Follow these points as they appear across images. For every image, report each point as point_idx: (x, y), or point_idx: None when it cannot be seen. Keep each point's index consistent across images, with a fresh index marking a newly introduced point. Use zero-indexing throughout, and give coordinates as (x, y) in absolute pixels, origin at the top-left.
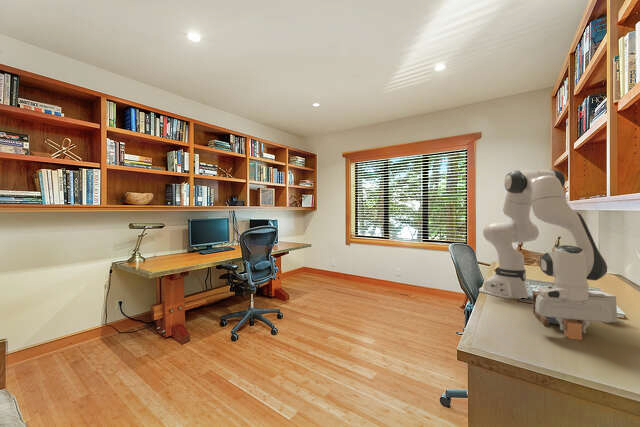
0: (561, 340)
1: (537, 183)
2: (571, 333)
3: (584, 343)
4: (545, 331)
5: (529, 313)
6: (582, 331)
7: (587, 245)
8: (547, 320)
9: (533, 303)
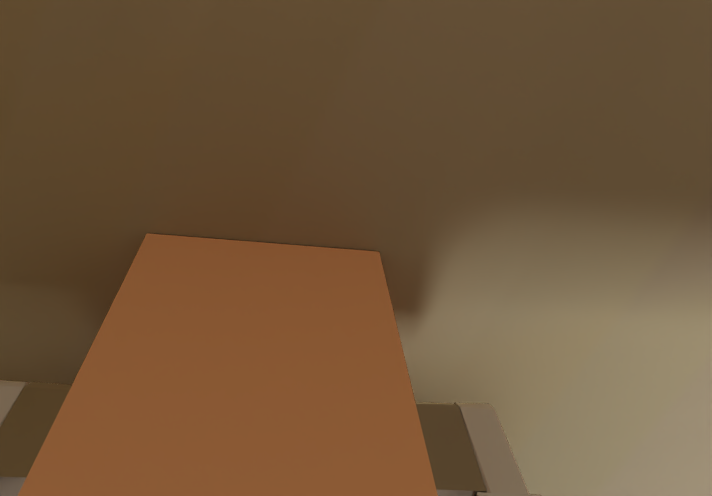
0: (589, 115)
1: None
2: (331, 314)
3: (172, 59)
4: (605, 452)
5: None
6: (52, 396)
7: None
8: None
9: None
